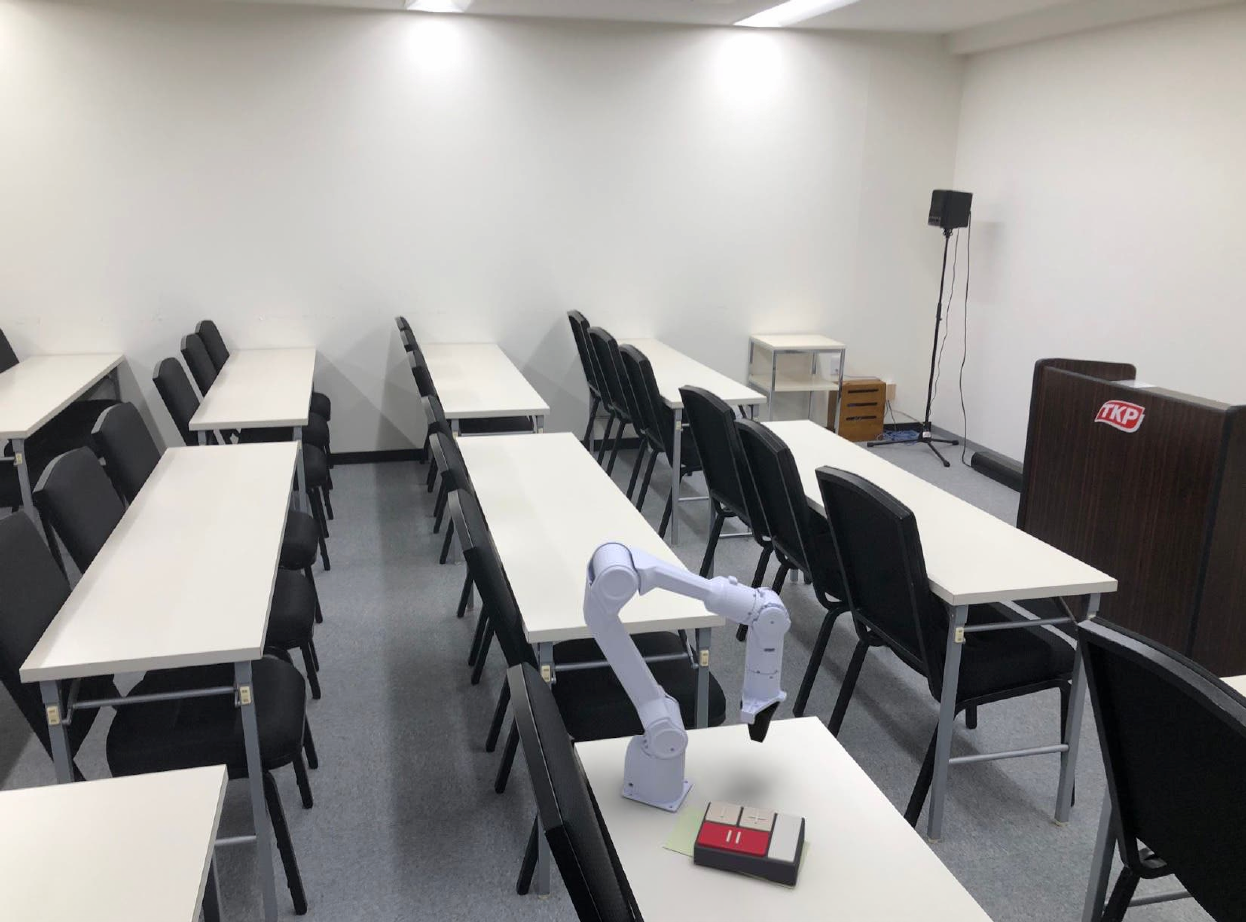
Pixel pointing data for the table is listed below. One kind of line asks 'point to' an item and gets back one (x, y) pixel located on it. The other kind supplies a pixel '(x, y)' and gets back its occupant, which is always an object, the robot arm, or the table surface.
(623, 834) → the table surface
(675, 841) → the mat
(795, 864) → the button box
